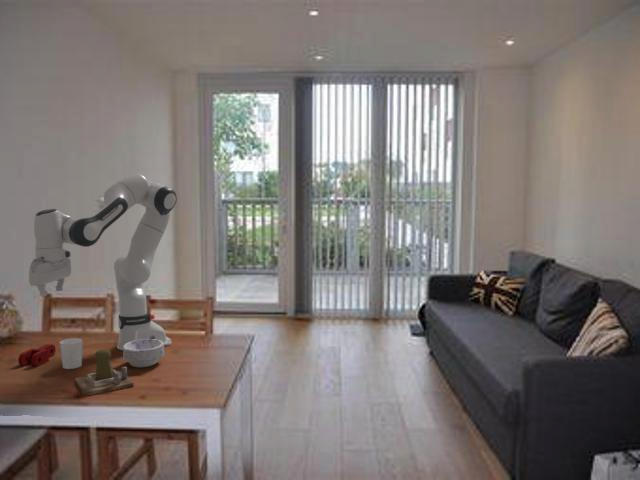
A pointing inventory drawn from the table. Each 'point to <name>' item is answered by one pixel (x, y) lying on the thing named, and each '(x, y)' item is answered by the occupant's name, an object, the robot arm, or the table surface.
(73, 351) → the white cup
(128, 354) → the paper bowls
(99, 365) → the olive brown peg
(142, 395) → the table surface
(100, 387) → the peg board
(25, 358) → the mechanical linkage
